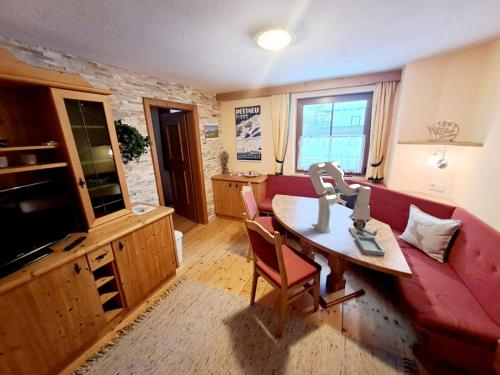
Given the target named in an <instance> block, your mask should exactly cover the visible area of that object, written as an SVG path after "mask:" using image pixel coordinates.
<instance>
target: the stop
mask: <svg viewBox="0 0 500 375" xmlns="http://www.w3.org/2000/svg"><path fill="white" fill-rule="evenodd" d="M363 223H364V220H358V219H357V221H356V228H355V227H354V228H355V229H357V230H363Z"/></svg>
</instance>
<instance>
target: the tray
mask: <svg viewBox="0 0 500 375" xmlns="http://www.w3.org/2000/svg"><path fill="white" fill-rule="evenodd" d="M355 241H356V242H357V245H358V247H359V248H360V249H361V251H362V253H363V254H367V255H374V256H375V255H376V256H377V255H378V256H385V252H386V251H385V250H384V249H383V247H382V246H381V245H380V243H379V242H378V241H377V240H376V238H375V237H374V236H372V237H362V236H356V237H355Z"/></svg>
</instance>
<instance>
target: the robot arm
mask: <svg viewBox="0 0 500 375" xmlns="http://www.w3.org/2000/svg"><path fill="white" fill-rule="evenodd" d="M340 168H341V164H340V163H339V162H338V161H336V160H335V161H334V160H333V161H332V160H331V161H324V162H316V163H312V164H311V165H309V167H308V169H307V173H308V174H307V175H308V176H309V178H310V180H311V182H312V185H313V187H314V190H315V192H316V194H318V195H320V197H319V199H318V213H317V215H318V216H317V222H316V223H311V227H313V228H314V229H315V230H316V232H318V233H321V234H322V233H323V234H327V233H330V232H331V228H330V226H329V225H330V219H331V208H330V206H333V205H336V204H337V203H338V199H339V198H338V195H337V193H336V191H335V188H334V187H333V185H332V184H331V183H330V182H327V181H326V182H324V180H323V178H322V176H321V175H320V173H326V174H327V175H329V177H330V178H332V179H333V180H334V183H335V185H336V188H337V189H338V190H339V191H340V192H341V193H342V194H343V195H344V196H347V197H351V196H354V195H357V197H356V200H355V201H354V202H353V204H355V205H354V206H353V210H352V213H351V214H350V215H349V216H348V218H349V219H351V220H352V222H353V223H352V226H353V228H356V221H357V219H358V220H364V223H363V228H364V229H366V224H367V223H368V222H369V221H371V220H373V218H372V217H371V216H370V213H371V211H370V210H371V209H370V208H371V207H370V205H369V203H370V198H371V192H372V188H370V187H369V186H365V185H361V184H358V183H353V184H348V183H347V182H346V181H345V180H344V176H345V172H344V171H343V170H341V169H340ZM321 195H322V196H321Z"/></svg>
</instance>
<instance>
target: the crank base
mask: <svg viewBox="0 0 500 375" xmlns="http://www.w3.org/2000/svg"><path fill="white" fill-rule="evenodd" d="M348 230H349V231H350V234H351V235H352V237H354V238H356V236H362V237H373V236H372V235H370V234H368V233H366V232H363V231H359V230H357V229H355V227H348Z"/></svg>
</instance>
